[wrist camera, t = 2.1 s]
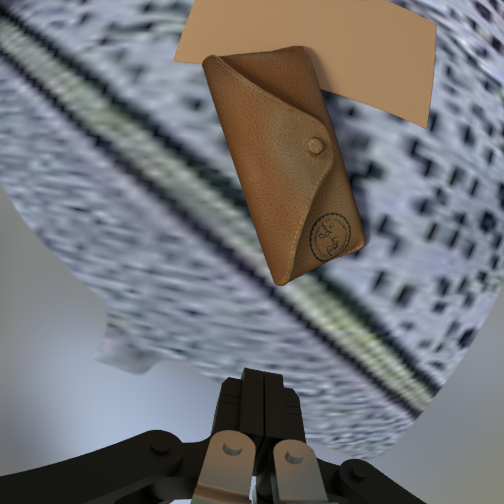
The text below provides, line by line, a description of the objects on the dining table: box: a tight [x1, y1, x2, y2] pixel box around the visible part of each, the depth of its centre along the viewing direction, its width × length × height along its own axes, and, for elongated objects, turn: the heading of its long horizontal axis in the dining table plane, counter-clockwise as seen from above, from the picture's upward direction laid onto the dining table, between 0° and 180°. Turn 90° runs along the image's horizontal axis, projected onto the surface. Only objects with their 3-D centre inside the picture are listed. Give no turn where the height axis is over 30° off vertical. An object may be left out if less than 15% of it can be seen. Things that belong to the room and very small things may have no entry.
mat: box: [173, 0, 436, 129], centre depth 20 cm, size 12×22×1 cm, turn 77°
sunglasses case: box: [202, 46, 366, 286], centre depth 21 cm, size 18×7×7 cm
